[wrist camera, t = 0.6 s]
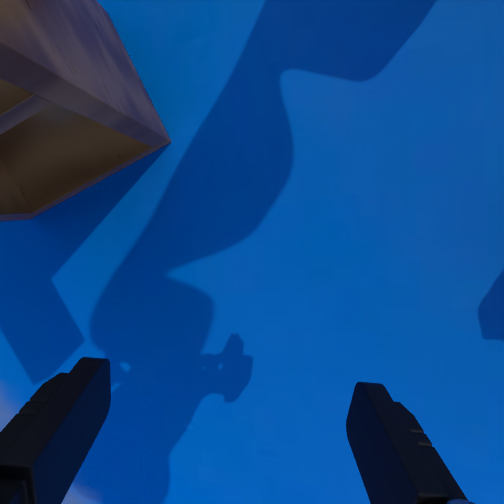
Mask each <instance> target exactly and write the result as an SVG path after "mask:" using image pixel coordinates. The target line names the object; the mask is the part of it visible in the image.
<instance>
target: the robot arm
mask: <svg viewBox="0 0 504 504" xmlns="http://www.w3.org/2000/svg"><path fill="white" fill-rule="evenodd" d="M110 401H111V384H110V362H109V360H108V359H101V358H90V357H83V358H81V359H80V360H79V361H78V362H77V364H76V365H75V366H74V367H73V369H72V370H71V371H70V372H69V373H59V374H58V375H56V376H55V377H53V378H52V379H50V380H48V381H47V382H45V383H44V384H43V385H42V386H41V387H40V388H39V389H38V390H37V391H36V393H35V394H34V395H33V396H32V397H31V398H30V401H28V402H27V403H26V404H25V405H24V406H23V407H22V408H21V410H20V412H19V414H16V415H15V416H14V418H13V419H12V420H11V421H10V422H9V423H8V424H7V426H6V427H5V428H4V429H3V430H2V431H1V432H0V504H61V503H62V501H63V499H64V497H65V495H66V493H67V491H68V490H69V488H70V486H71V484H72V482H73V480H74V478H75V476H76V474H77V473H78V471H79V469H80V467H81V465H82V463H83V461H84V459H85V457H86V455H87V454H88V452H89V450H90V448H91V446H92V444H93V442H94V440H95V438H96V437H97V435H98V433H99V431H100V429H101V427H102V425H103V423H104V421H105V419H106V417H107V414H108V411H109V407H110ZM346 431H347V437H348V441H349V444H350V446H351V449H352V452H353V455H354V458H355V460H356V463H357V466H358V469H359V472H360V475H361V477H362V480H363V483H364V486H365V489H366V491H367V494H368V497H369V500H370V503H371V504H475V503H472V502H470V501H468V500H467V498H466V497H465V495H464V493H463V492H462V490H461V489H460V487H459V486H458V484H457V482H456V481H455V479H454V478H453V476H452V475H451V473H450V471H449V470H448V468H447V467H446V465H445V464H444V462H443V460H442V459H441V457H440V456H439V454H438V453H437V451H436V450H435V448H434V447H432V443H431V442H430V440H429V439H428V437H427V435H426V434H424V431H423V429H422V428H421V426H420V424H419V423H418V421H417V420H416V418H415V417H414V415H413V414H412V413H410V412H409V411H408V410H407V409H406V408H405V407H404V406H403V405H402V404H401V403H400V402H393V400H392V398H391V397H390V395H389V393H388V391H387V390H386V388H385V387H384V385H382V384H379V383H367V382H358V383H357V384H356V386H355V389H354V393H353V397H352V400H351V404H350V408H349V412H348V416H347V421H346Z"/></svg>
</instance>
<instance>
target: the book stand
mask: <svg viewBox="0 0 504 504" xmlns="http://www.w3.org/2000/svg"><path fill="white" fill-rule="evenodd" d="M169 143H171V140H170V138H169V136H168V134H167V132H166V130H165V128H164V126H163V124H162V122H161V120H160V118H159V116H158V114H157V112H156V110H155V108H154V106H153V104H152V102H151V99H150V97H149V95H148V93H147V91H146V89H145V87H144V85H143V83H142V81H141V79H140V77H139V75H138V73H137V71H136V69H135V67H134V65H133V63H132V61H131V59H130V57H129V55H128V53H127V51H126V49H125V47H124V45H123V43H122V41H121V39H120V37H119V35H118V33H117V31H116V29H115V27H114V25H113V23H112V21H111V19H110V17H109V15H108V13H107V12H106V11H105V10H104V8H103V7H102V6H101V5H100V4H99V3H98V2H97V1H96V0H0V221H13V220H28V219H32V218H33V217H35V216H37V215H39V214H41V213H43V212H44V211H46V210H48V209H50V208H52V207H54V206H55V205H57V204H59V203H61V202H63V201H65V200H66V199H68V198H70V197H72V196H74V195H76V194H77V193H79V192H81V191H83V190H85V189H87V188H88V187H90V186H92V185H94V184H96V183H97V182H99V181H101V180H103V179H105V178H107V177H108V176H110V175H112V174H114V173H116V172H118V171H119V170H121V169H123V168H125V167H127V166H129V165H130V164H132V163H134V162H136V161H138V160H140V159H141V158H143V157H145V156H147V155H149V154H151V153H152V152H154V151H156V150H158V149H160V148H162V147H163V146H165V145H167V144H169Z"/></svg>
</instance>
